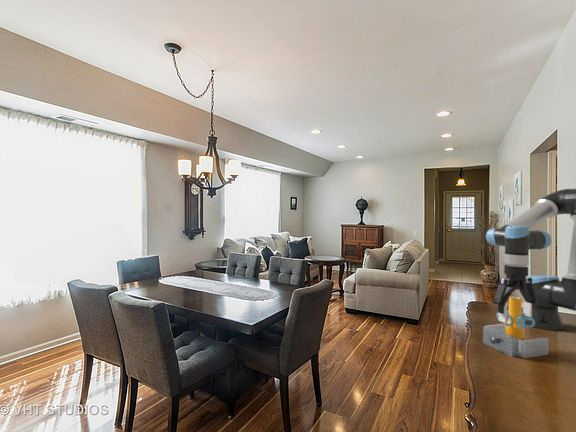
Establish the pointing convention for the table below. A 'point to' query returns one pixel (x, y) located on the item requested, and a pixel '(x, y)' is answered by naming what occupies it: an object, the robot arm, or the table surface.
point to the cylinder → (516, 318)
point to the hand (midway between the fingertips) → (515, 320)
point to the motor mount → (513, 342)
